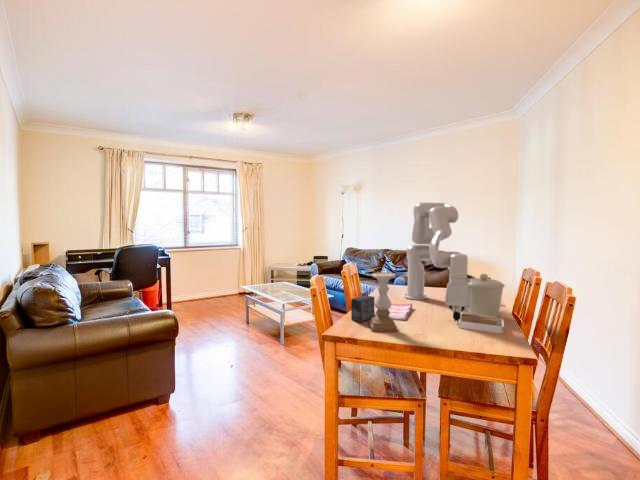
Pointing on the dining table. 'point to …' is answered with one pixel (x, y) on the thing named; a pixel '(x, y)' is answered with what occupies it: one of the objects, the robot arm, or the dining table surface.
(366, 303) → the small box
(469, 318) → the tile
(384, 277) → the candle holder
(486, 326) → the tray
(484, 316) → the tile
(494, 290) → the canister
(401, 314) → the dish towel
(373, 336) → the dining table surface
